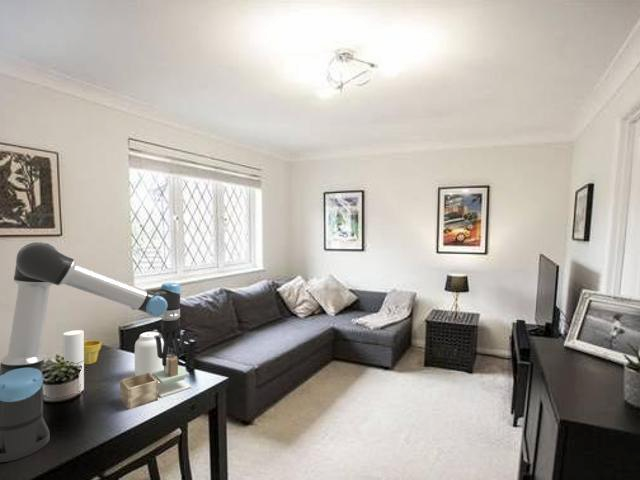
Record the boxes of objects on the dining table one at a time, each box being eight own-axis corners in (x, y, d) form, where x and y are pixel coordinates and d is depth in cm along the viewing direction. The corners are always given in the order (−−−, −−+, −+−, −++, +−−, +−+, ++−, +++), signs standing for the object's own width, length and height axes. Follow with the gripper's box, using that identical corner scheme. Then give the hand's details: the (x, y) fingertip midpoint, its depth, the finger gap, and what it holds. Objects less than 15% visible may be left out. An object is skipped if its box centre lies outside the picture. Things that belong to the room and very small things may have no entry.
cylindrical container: (73, 395, 144) (73, 335, 144) (59, 393, 146) (58, 334, 145) (87, 387, 151) (87, 330, 150) (74, 385, 153) (74, 329, 152)
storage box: (128, 409, 134) (128, 389, 134) (119, 399, 142) (119, 380, 142) (157, 400, 142) (158, 380, 142) (148, 390, 150) (148, 372, 149)
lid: (162, 387, 144) (162, 364, 144) (152, 378, 153) (152, 357, 152) (189, 379, 153) (189, 357, 152) (178, 371, 161) (178, 350, 160)
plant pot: (105, 358, 184) (105, 340, 184) (91, 366, 174) (91, 347, 174) (87, 357, 185) (87, 339, 185) (71, 365, 175) (71, 346, 175)
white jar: (148, 368, 173) (148, 328, 172) (169, 371, 170) (169, 331, 169) (128, 378, 161) (128, 336, 160) (150, 382, 158) (150, 338, 157)
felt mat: (160, 398, 144) (160, 396, 144) (149, 387, 153) (149, 385, 153) (191, 388, 153) (191, 386, 153) (178, 378, 162) (178, 377, 162)
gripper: (154, 323, 143) (154, 379, 144) (192, 317, 155) (192, 368, 156) (148, 319, 149) (148, 373, 150) (185, 313, 160) (185, 364, 161)
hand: (170, 371), depth 153 cm, fingers closed on lid, 3 cm apart
